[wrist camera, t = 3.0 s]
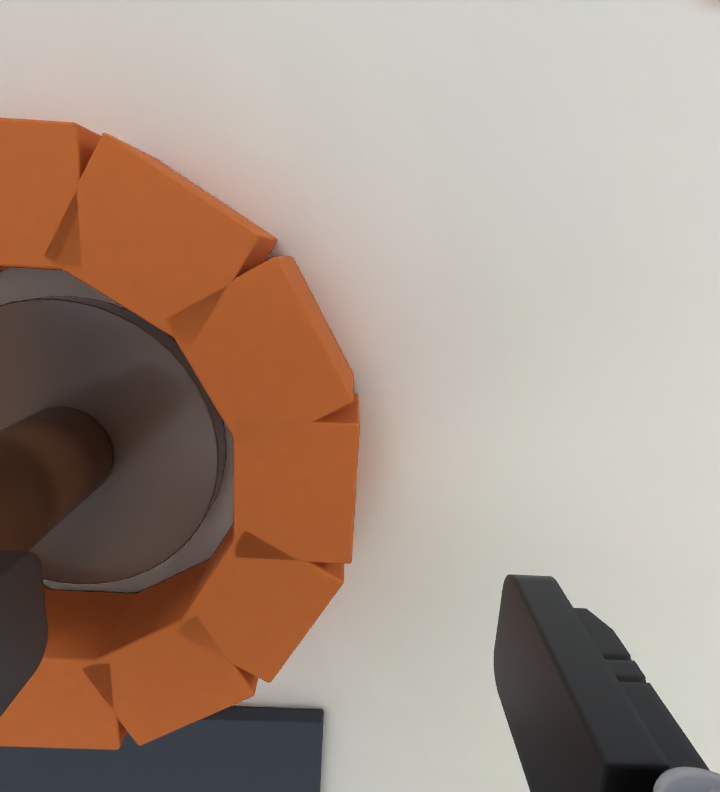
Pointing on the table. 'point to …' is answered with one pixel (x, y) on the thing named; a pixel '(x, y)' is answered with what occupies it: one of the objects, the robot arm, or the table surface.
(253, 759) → the mat
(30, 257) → the ring
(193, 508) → the disc with centre peg
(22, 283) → the table surface
